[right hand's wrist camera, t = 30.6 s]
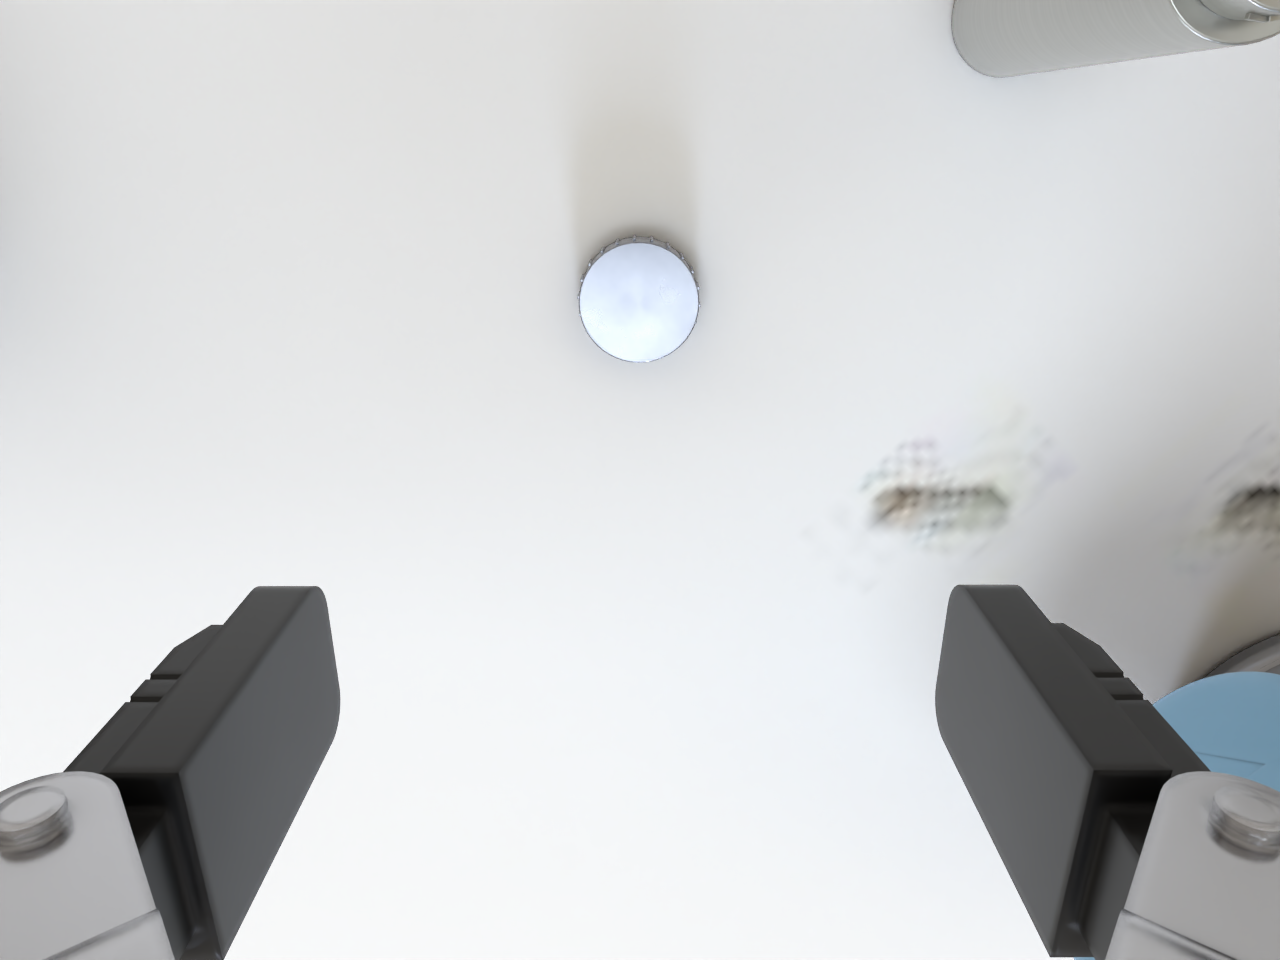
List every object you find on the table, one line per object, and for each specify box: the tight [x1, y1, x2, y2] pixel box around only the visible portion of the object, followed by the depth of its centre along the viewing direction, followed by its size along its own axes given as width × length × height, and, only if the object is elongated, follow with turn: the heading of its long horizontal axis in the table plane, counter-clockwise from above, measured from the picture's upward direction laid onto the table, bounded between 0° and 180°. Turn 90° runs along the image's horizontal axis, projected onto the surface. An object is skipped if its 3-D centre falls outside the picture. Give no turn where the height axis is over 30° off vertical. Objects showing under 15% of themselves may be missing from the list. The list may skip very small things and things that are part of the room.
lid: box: [577, 235, 700, 362], centre depth 35 cm, size 5×5×2 cm
